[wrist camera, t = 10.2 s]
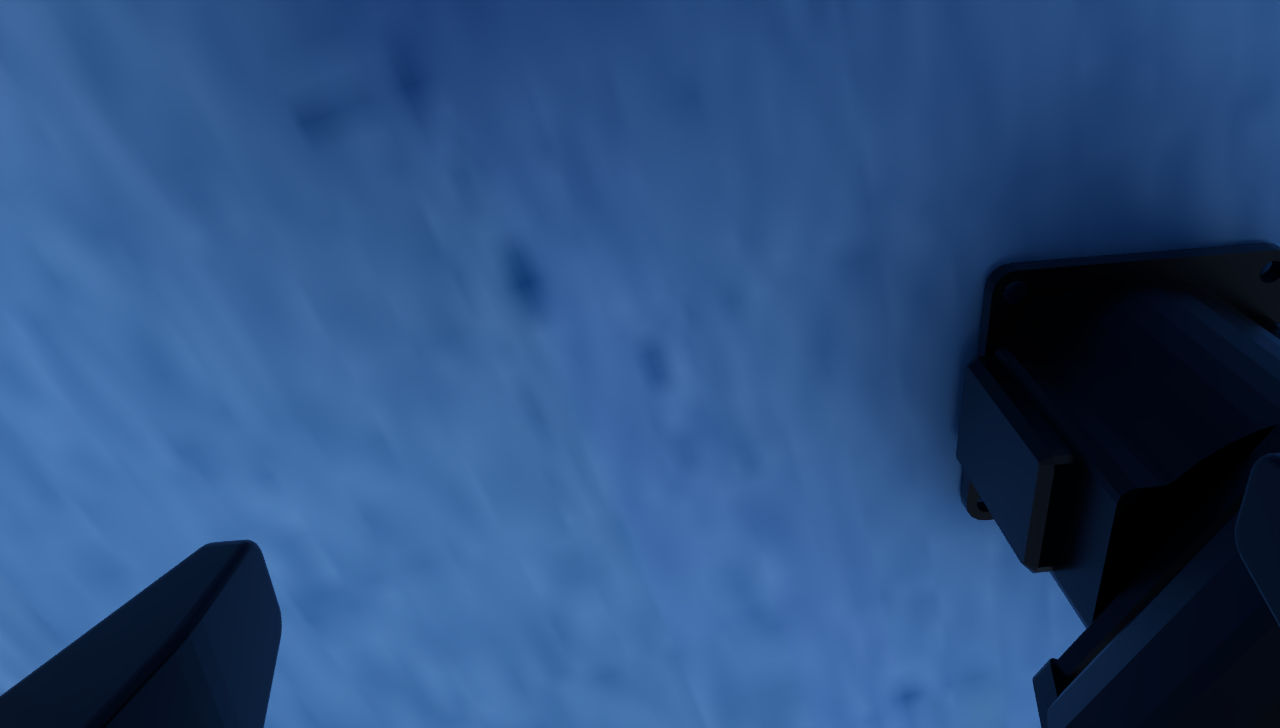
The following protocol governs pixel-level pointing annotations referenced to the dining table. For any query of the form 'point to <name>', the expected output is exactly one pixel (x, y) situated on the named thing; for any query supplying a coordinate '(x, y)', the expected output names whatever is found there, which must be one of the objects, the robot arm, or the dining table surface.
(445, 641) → the dining table surface
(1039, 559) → the robot arm
